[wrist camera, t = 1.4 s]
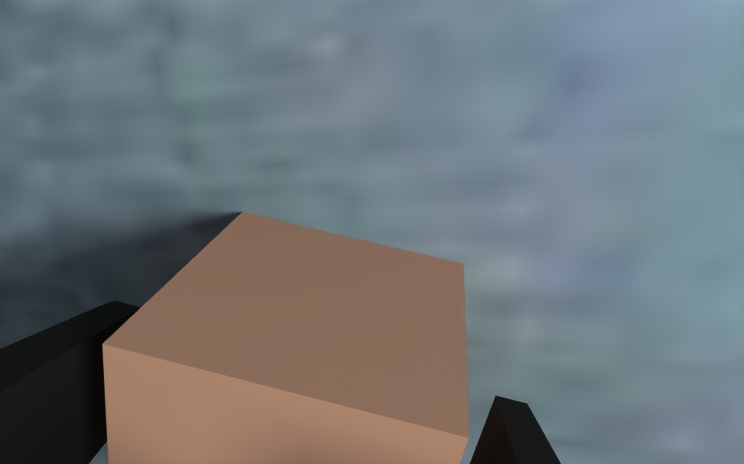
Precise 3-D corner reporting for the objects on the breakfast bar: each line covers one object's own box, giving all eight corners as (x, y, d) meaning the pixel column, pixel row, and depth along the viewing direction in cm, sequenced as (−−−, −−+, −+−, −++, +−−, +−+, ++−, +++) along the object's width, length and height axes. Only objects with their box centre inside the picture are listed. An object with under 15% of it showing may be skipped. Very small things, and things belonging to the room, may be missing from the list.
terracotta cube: (413, 429, 13) (391, 650, 9) (229, 381, 13) (114, 570, 9) (463, 262, 11) (468, 438, 6) (243, 210, 11) (101, 343, 7)
